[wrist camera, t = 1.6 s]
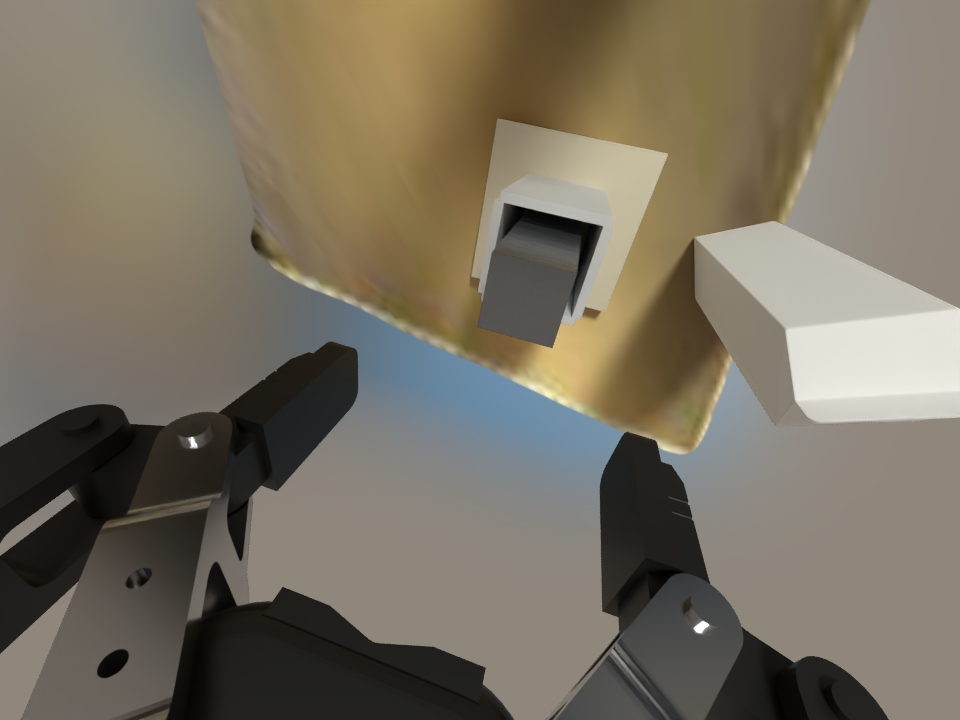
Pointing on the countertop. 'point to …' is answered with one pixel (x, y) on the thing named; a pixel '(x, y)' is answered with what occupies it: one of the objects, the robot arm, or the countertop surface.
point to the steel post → (532, 278)
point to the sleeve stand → (568, 200)
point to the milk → (826, 330)
